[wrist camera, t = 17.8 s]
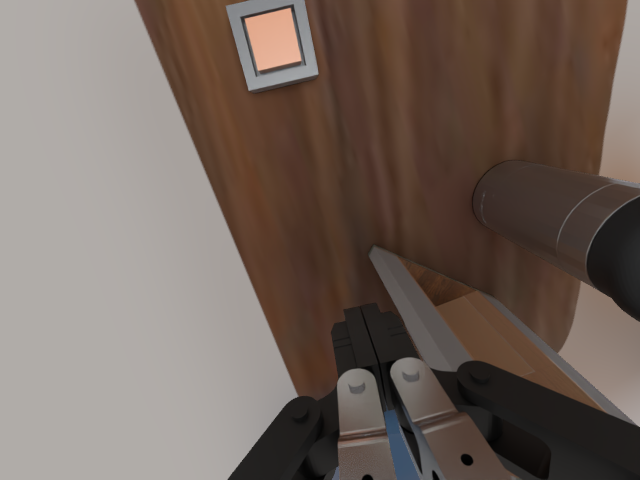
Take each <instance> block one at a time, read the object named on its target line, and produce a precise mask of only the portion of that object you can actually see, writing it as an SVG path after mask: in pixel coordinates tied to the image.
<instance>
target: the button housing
mask: <svg viewBox="0 0 640 480" xmlns="http://www.w3.org/2000/svg"><path fill="white" fill-rule="evenodd" d="M288 8H291V13H292V18H293V22H294V27H295V32H296V37H297V42H298V46H299V51H300V56H301V65H297V66H293V67H289V68H285V69H280V70H276V71H272V72H268V73H263V74H260V73H259V71H258V69H257V65H256V61H255V57H254V53H253V49H252V45H251V42H250V38H249V34H248V30H247V26H246V22H245V19H246V18H250V17H254V16H258V15H263V14H267V13H271V12H275V11H280V10H284V9H288ZM226 9H227V13H228V16H229V20H230V24H231V27H232V31H233V35H234V38H235V42H236V46H237V49H238V53H239V57H240V60H241V64H242V67H243V71H244V75H245V78H246V82H247V86H248V89H249V91H250V92H252V93H258V92H263V91H267V90H271V89H275V88H279V87H284V86H288V85H292V84H296V83H301V82H305V81H309V80H313V79H316V78H317V76H318V75H319V74H318V68H317V63H316V58H315V53H314V48H313V43H312V38H311V32H310V27H309V22H308V17H307V12H306V7H305V2H304V0H249V1H245V2H241V3H237V4H233V5H228V6H226Z"/></svg>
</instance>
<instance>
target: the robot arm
mask: <svg viewBox="0 0 640 480" xmlns="http://www.w3.org/2000/svg"><path fill="white" fill-rule="evenodd" d="M473 210H474V213H475V215H476V217H477V219H478V220H479V221H480V222H481V223H482V224H483V225H484V226H486V227H488V228H490V229H491V230H493V231H495V232H497V233H498V234H500V235H502V236H503V237H505V238H507V239H509V240H510V241H512V242H514V243H516V244H517V245H519V246H521V247H523V248H524V249H526V250H528V251H530V252H532V253H533V254H535V255H537V256H539V257H540V258H542V259H544V260H546V261H547V262H549V263H551V264H553V265H554V266H556V267H558V268H560V269H562V270H563V271H565V272H567V273H569V274H570V275H572V276H574V277H576V278H578V279H579V280H581V281H583V282H585V283H586V284H588V285H590V286H592V287H593V288H595V289H597V290H599V291H600V292H602V293H604V294H606V295H607V296H609V297H611V298H612V299H613V300H614V302H615V303H616V304H617V305H618V306H619V307H620V308H621V309H622V310H623V311H625V312H626V313H627V314H629V315H630V316H631V317H633V318H635V319H636V320H638V321H639V322H640V183H633V182H628V181H623V180H618V179H613V178H608V177H602V176H597V175H592V174H587V173H582V172H577V171H571V170H566V169H561V168H556V167H551V166H546V165H541V164H536V163H530V162H525V161H520V160H511V161H506V162H503V163H501V164H498V165H496V166H495V167H493V168H492V169H490V170H489V171H488V172H487V173H486V174H485V175H484V176H483V177H482V179H481V180H480V182H479V183H478V185H477V187H476V189H475V192H474V196H473ZM360 310H361V311H360ZM344 315H345V320H346V321H343V322H339V323H334V326H333V328H332V331H331V335H332V341H333V347H334V353H335V359H336V365H337V371H338V383H337V385H336V387H335V388H334V390H333V391H332V392H331V393H330V394H329V395H327V396H325V397H324V398H322V399H320V400H318V401H316V400H315V399H314V398H312V397H309V396H301V397H297V398H295V399H293V400H291V401H290V402H289V403H287V404H286V406H285V407H284V408H283V409H282V410H281V412H280V413H279V414H278V415H277V417H276V418H275V419H274V421H273V422H272V423H271V424H270V426H269V427H268V428H267V430H266V431H265V432H264V434H263V435H262V436H261V437H260V439H259V440H258V441H257V442H256V444H255V445H254V446H253V447H252V449H251V450H250V451H249V453H248V454H247V455H246V457H245V458H244V459H243V460H242V462H241V463H240V464H239V465H238V467H237V468H236V469H235V471H234V472H233V473H232V474H231V476H230V477H229V478H228V480H332V478H333V476H334V473H335V470H336V467H338V466H339V479H340V480H397V479H396V475H395V469H394V464H393V460H392V455H391V450H390V445H389V440H388V435H387V431H386V423H385V417H384V412H385V411H386V405H387V408H388V411H389V410H394V409H395V412H396V415H397V418H398V424H399V429H400V432H401V434H402V437H403V439H404V442H405V444H406V446H407V449H408V451H409V454H410V456H411V458H412V461H413V463H414V465H415V468H416V470H417V472H418V475H419V477H420V480H512V478H511V477H510V475H509V474H508V472H507V471H506V470H508V471H509V472H511V473H512V474H514V475H516V476H517V477H519V478H520V479H522V480H640V427H638V426H636V425H634V424H631V423H629V422H627V421H624V420H622V419H620V418H617V417H615V416H612V415H610V414H608V413H605V412H603V411H601V410H598V409H596V408H593V407H591V406H589V405H586V404H584V403H582V402H579V401H577V400H574V399H572V398H570V397H567V396H565V395H563V394H560V393H558V392H555V391H553V390H551V389H548V388H546V387H544V386H541V385H539V384H537V383H534V382H532V381H529V380H527V379H525V378H522V377H520V376H518V375H515V374H513V373H510V372H508V371H506V370H503V369H501V368H499V367H496V366H494V365H491V364H489V363H486V362H483V361H477V360H473V361H467V362H464V363H463V364H461V365H460V366H459V367H458V369H457V372H453V371H440V370H436V369H433V368H430V367H429V366H428V365H427V364H426V363H425V362H423V361H422V360H420V358H419V356H418V354H417V352H416V350H415V348H414V346H413V344H412V342H411V340H410V339H409V337H408V335H407V333H406V331H405V329H404V327H403V325H402V323H401V321H400V319H399V317H398V316H396V315H395V314H393V313H392V312H391V311H389V312H384V313H380V310H379V308H378V306H377V304H376V303H372V304H367V305H362V306H360V308H359V306H358V307H354V308H349V309H344ZM385 402H386V405H385Z"/></svg>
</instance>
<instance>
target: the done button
mask: <svg viewBox="0 0 640 480" xmlns="http://www.w3.org/2000/svg"><path fill="white" fill-rule="evenodd" d="M245 22H246V26H247V30H248V34H249V38H250V42H251V45H252V49H253V53H254V57H255V61H256V65H257V69H258V71H259V73H260V74H263V73H268V72H272V71H276V70H280V69H285V68H289V67H293V66H297V65H301V56H300V51H299V46H298V42H297V37H296V32H295V27H294V22H293V18H292V13H291V8H288V9H284V10H280V11H275V12H271V13H267V14H263V15H258V16H254V17H250V18H246V19H245Z"/></svg>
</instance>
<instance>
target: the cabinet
mask: <svg viewBox="0 0 640 480" xmlns="http://www.w3.org/2000/svg"><path fill="white" fill-rule="evenodd" d="M368 256H369V258H370V259H371V261H372V263H373V265H374V267H375V269H376V270H377V272H378V274H379V276H380V278H381V280H382V282H383V283H384V285H385V287H386V289H387V291H388V293H389V294H390V296H391V298H392V300H393V302H394V304H395V306H396V307H397V309H398V311H399V313H400V315H401V317H402V318H403V321H404V324H405V326H406V328H407V330H408V332H409V334H410V336H411V337H412V339H413V341H414V343H415V345H416V347H417V349H418V351H419V352H420V354H421V356H422V358H423V360H424V362H425V363H426V364H427V365H428V366H429V367H430V368H433V369H436V370H440V371H453V372H457V369H458V367H459V366H460V365H461V364H463V363H464V362H467V361H473V360H477V361H483V362H486V363H489V364H491V365H494V366H496V367H499V368H501V369H503V370H506V371H508V372H510V373H513V374H515V375H518V376H520V377H522V378H525V379H527V380H529V381H532V382H534V383H537V384H539V385H541V386H544V387H546V388H548V389H551V390H553V391H555V392H558V393H560V394H563V395H565V396H567V397H570V398H572V399H574V400H577V401H579V402H582V403H584V404H586V405H589V406H591V407H593V408H596V409H598V410H601V411H603V412H605V413H608V414H610V415H612V416H615V417H617V418H620V419H622V420H624V421H627V422H629V423H631V424H634V425H636V424H635V423H634V422H633V421H632V420H631V419H629V418H628V417H627V416H626V415H625V414H624V413H623V412H622V411H621V410H620V409H618V408H617V407H616V406H615V405H614V404H613V403H612V402H611V401H609V400H608V399H607V398H606V397H605V396H604V395H603V394H602V393H601V392H599V391H598V390H597V389H596V388H595V387H594V386H593V385H592V384H590V383H589V382H588V381H587V380H586V379H585V378H584V377H583V376H582V375H581V374H579V373H578V372H577V371H576V370H575V369H574V368H573V367H572V366H570V365H569V364H568V363H567V362H566V361H565V360H564V359H563V358H561V357H560V356H559V355H558V354H557V353H556V352H555V351H554V350H553V349H552V348H550V347H549V346H548V345H547V344H546V343H545V342H544V341H543V340H542V339H540V338H539V337H538V336H537V335H536V334H535V333H534V332H533V331H531V330H530V329H529V328H528V327H527V326H526V325H525V324H524V323H523V322H521V321H520V320H519V319H518V318H517V317H516V316H515V315H514V314H513V313H511V312H510V311H509V310H508V309H507V308H506V307H505V306H504V305H502V304H501V303H500V302H499V301H498V300H497V299H496V298H495V297H494V296H491V295H489V294H487V293H484V292H482V291H480V290H478V289H475V288H473V287H471V286H468V285H466V284H464V283H461V282H459V281H457V280H454V279H452V278H450V277H448V276H445V275H443V274H441V273H438V272H436V271H434V270H431V269H429V268H427V267H424V266H422V265H420V264H418V263H415V262H413V261H411V260H408V259H406V258H404V257H401V256H399V255H397V254H395V253H392V252H390V251H388V250H385V249H383V248H381V247H378V246H376V245H374V244H373V246H372V248H371V249H370V251H369V253H368ZM636 426H637V425H636ZM506 471H507V472H508V474H509V475H510V477H511V478H512V480H522V479H520V478H519V477H517V476H516V475H514V474H512V473H511V472H509V471H508V470H506Z"/></svg>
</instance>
